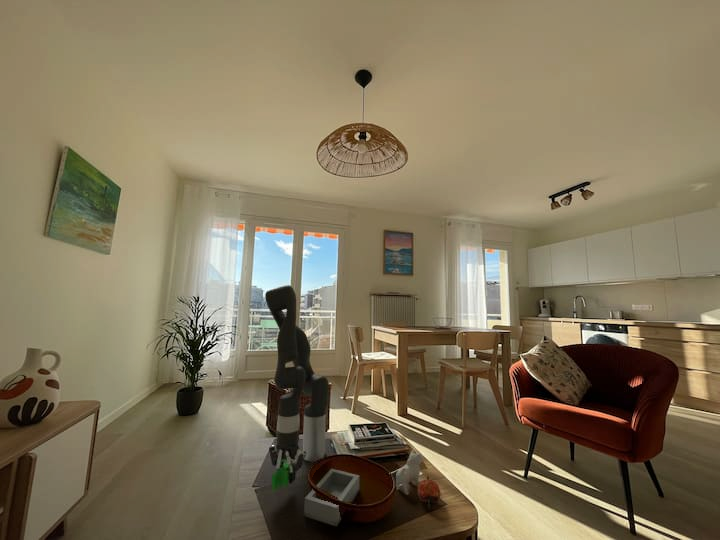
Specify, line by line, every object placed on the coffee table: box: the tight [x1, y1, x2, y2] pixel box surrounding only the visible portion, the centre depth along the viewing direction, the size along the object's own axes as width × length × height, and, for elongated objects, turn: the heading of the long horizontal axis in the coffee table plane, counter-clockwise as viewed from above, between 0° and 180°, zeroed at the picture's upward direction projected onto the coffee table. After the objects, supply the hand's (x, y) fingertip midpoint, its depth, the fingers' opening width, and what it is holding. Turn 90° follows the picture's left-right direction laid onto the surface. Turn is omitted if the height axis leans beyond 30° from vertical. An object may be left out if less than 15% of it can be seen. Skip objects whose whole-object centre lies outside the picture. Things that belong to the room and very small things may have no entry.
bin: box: [303, 468, 360, 527], centre depth 97 cm, size 18×11×5 cm, turn 158°
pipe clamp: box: [271, 462, 297, 491], centre depth 100 cm, size 11×4×5 cm, turn 159°
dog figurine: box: [396, 449, 423, 496], centre depth 108 cm, size 5×13×11 cm, turn 137°
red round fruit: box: [417, 475, 441, 508], centre depth 98 cm, size 7×7×10 cm
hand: (286, 480), depth 100 cm, fingers closed on pipe clamp, 3 cm apart
